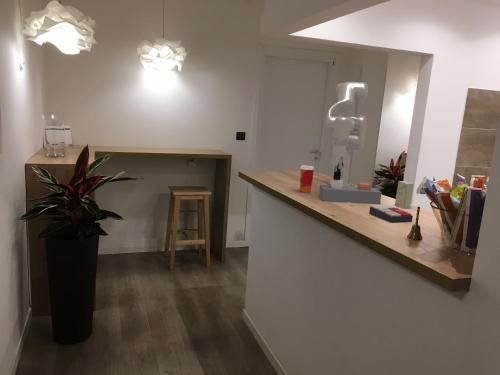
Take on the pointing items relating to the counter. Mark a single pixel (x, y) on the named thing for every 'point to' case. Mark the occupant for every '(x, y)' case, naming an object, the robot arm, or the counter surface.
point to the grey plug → (336, 184)
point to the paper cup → (306, 178)
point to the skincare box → (404, 194)
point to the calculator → (390, 214)
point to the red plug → (364, 186)
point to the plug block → (349, 195)
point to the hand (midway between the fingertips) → (336, 179)
